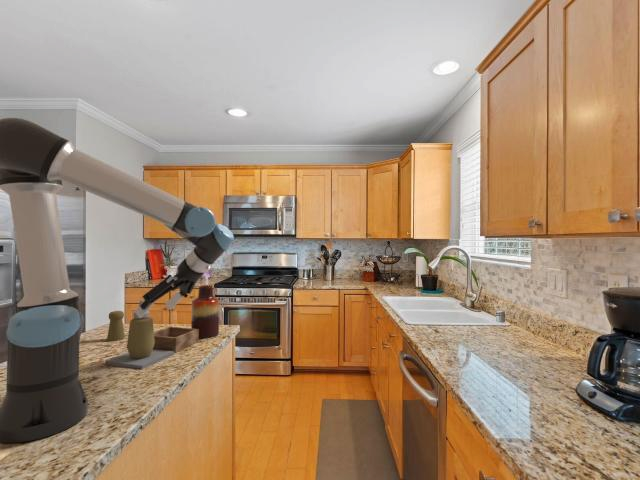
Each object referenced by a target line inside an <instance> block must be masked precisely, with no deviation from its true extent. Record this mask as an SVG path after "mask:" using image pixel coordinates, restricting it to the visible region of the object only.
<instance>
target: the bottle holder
mask: <svg viewBox="0 0 640 480" xmlns="http://www.w3.org/2000/svg"><path fill="white" fill-rule="evenodd" d="M154 340H155V344H154V347H153V349H157V350H166V351H174V354H175V353H178V352H180V351H182V350H184V349H186V348H189V347H192V346H193V345H196V344H198V343H199V342H200V341H199V340H200V339H199V329H191V328H190V327H189V328H188V327H178V326H177V327H176V326H175V327H174V326H169V327H166V328H163V329H160V330H155V331H154Z"/></svg>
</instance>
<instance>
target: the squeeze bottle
mask: <svg viewBox="0 0 640 480" xmlns="http://www.w3.org/2000/svg"><path fill="white" fill-rule="evenodd" d="M143 301H144V300H139V304H138V307H139V306H140V305H141V304H142V303H143ZM138 307H137V308H138ZM150 315H151V314H150V311H149V310H148V311H147V312H146V313H145V314H144V315H143V316H142V318H139V317H138V316H137V314H136V313H135V312H133V318H132V319H131V320H130V322H129V327H128V334H127V341H126V342H127V343H126V349H127V353H128V352H129V354H130V357H131V358H134V359H138V358H145V357H148V356H150V355H151V353H152V350H153V347H154V344H155V340H154V332H155V331H154V330H155V329H154V322H153V321H154V320H153V318H151V317H150Z"/></svg>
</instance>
